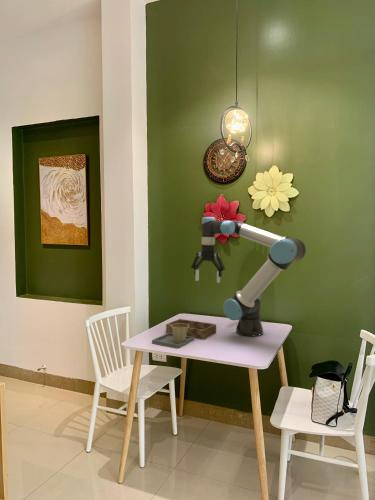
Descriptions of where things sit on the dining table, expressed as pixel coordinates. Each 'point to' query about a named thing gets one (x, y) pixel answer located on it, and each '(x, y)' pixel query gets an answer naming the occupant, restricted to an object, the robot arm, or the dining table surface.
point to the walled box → (195, 328)
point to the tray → (171, 341)
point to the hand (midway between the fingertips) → (207, 281)
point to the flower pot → (179, 332)
